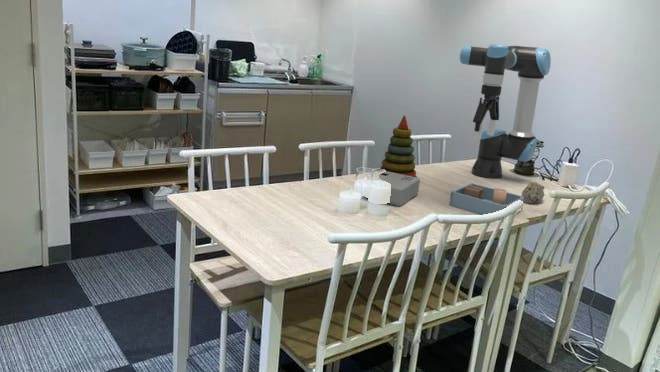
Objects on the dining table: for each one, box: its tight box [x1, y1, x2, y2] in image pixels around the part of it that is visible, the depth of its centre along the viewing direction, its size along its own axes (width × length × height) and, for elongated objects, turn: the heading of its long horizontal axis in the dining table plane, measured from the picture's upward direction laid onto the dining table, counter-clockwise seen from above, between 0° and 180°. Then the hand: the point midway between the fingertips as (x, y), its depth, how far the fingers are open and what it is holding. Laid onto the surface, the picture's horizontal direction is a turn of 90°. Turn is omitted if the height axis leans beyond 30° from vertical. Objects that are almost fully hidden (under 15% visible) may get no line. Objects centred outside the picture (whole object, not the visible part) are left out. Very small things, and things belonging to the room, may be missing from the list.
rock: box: [520, 181, 546, 204], centre depth 238 cm, size 12×7×10 cm, turn 122°
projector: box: [379, 171, 421, 207], centre depth 230 cm, size 17×22×8 cm
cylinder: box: [492, 188, 508, 205], centre depth 222 cm, size 5×5×8 cm
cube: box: [464, 185, 484, 200], centre depth 229 cm, size 6×6×6 cm
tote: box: [449, 182, 524, 215], centre depth 225 cm, size 20×24×6 cm
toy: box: [379, 115, 419, 178], centre depth 255 cm, size 20×20×30 cm
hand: (483, 137), depth 221 cm, fingers open, 13 cm apart
